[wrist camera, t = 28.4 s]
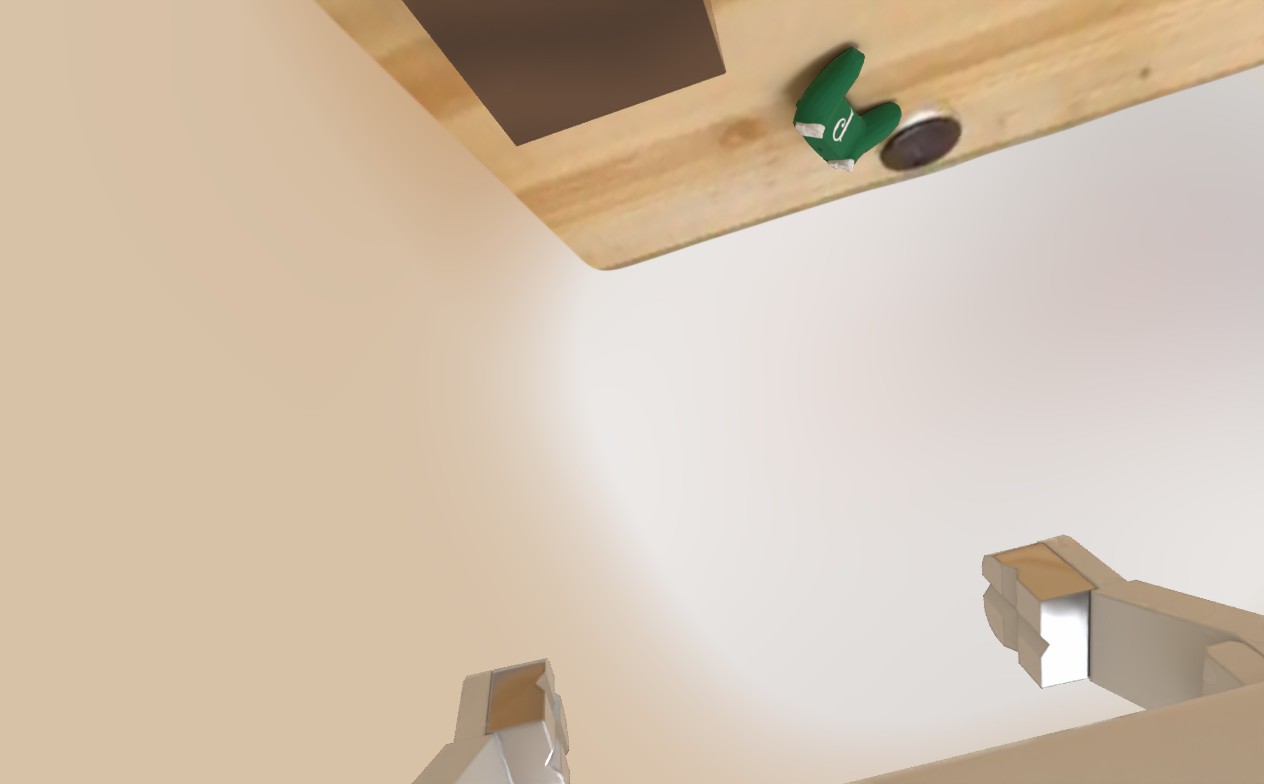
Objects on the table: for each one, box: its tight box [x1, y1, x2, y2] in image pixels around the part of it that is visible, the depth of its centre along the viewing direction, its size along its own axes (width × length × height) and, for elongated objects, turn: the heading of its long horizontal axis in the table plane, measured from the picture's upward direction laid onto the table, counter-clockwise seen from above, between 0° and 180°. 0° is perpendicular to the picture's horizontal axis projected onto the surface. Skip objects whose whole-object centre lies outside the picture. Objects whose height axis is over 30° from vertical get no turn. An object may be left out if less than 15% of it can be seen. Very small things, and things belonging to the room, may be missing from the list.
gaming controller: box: [793, 47, 901, 172], centre depth 55 cm, size 9×4×6 cm
